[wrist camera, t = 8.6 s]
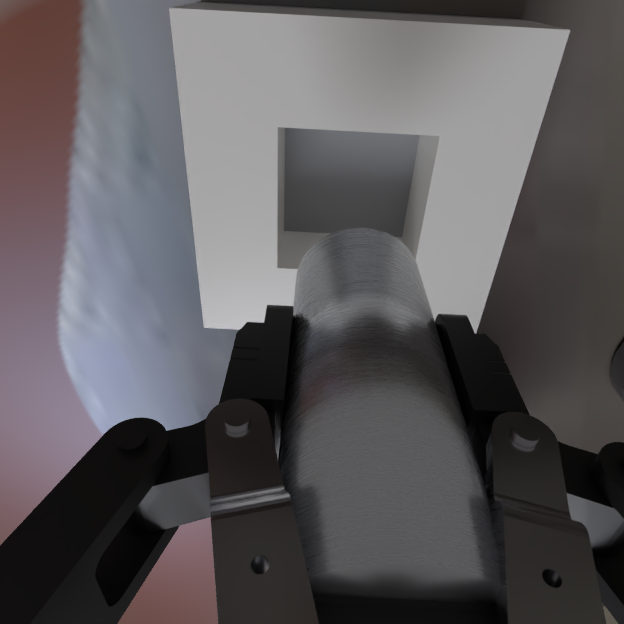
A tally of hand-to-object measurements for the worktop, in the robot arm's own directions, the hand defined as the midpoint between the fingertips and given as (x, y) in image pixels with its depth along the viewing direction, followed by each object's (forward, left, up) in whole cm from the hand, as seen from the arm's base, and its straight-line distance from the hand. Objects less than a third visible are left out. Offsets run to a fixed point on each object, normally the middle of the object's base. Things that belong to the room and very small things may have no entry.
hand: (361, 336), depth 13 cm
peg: (0, 0, -3) cm, 3 cm away
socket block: (0, 0, -14) cm, 14 cm away
